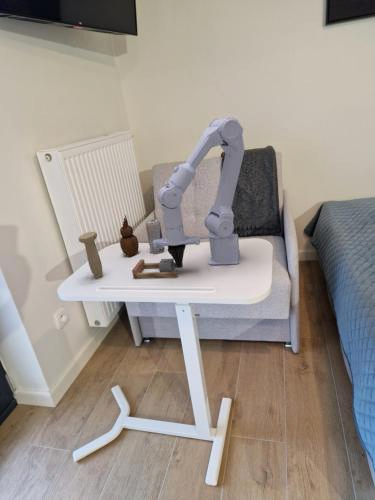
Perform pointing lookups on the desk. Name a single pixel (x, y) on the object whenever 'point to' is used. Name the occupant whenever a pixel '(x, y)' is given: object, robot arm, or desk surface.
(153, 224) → the energy drink
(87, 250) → the handle
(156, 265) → the channel
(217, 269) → the desk surface
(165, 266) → the grey cube
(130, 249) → the wooden figurine
